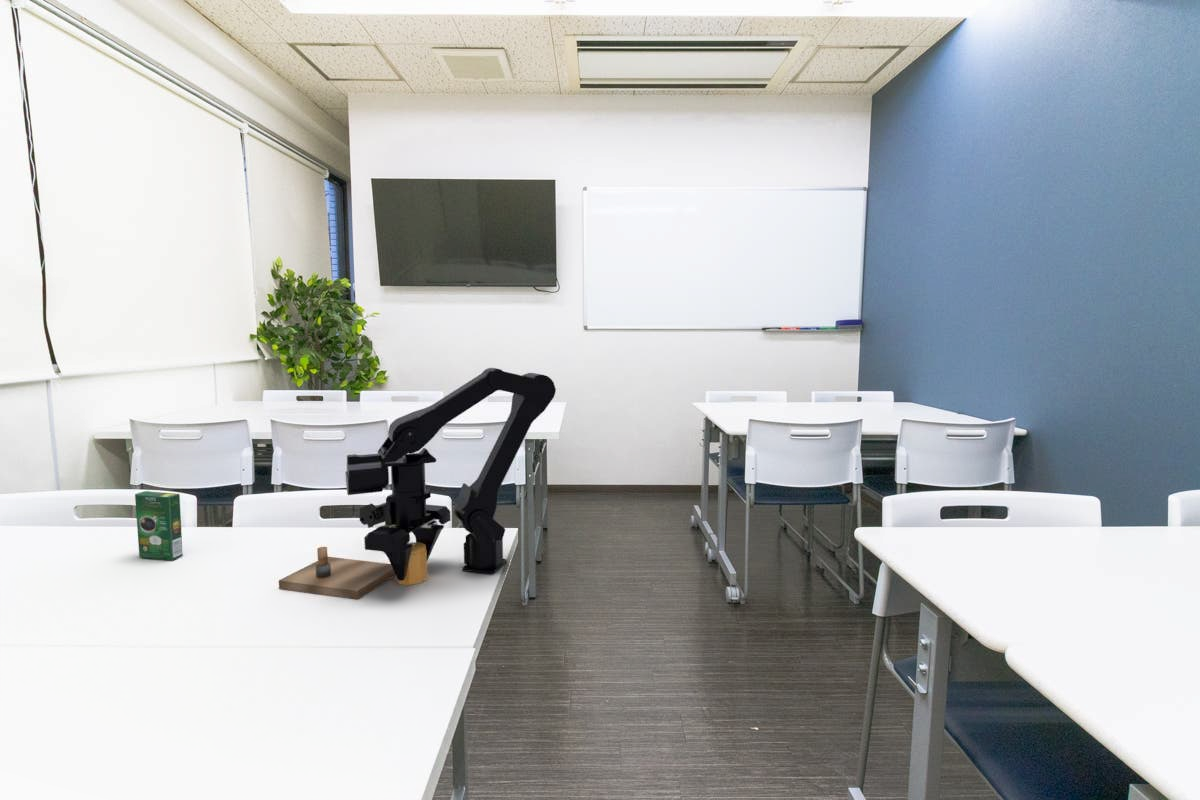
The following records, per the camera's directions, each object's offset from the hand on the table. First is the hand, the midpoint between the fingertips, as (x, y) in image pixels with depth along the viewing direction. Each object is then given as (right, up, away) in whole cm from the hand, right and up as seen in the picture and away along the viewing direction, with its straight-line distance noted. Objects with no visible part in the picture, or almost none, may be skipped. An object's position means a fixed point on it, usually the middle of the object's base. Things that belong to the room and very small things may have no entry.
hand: (412, 572), depth 112 cm
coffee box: (-53, 0, +11) cm, 54 cm away
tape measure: (-10, 0, +19) cm, 21 cm away
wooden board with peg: (-13, -1, 0) cm, 13 cm away
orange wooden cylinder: (0, -1, 0) cm, 1 cm away
